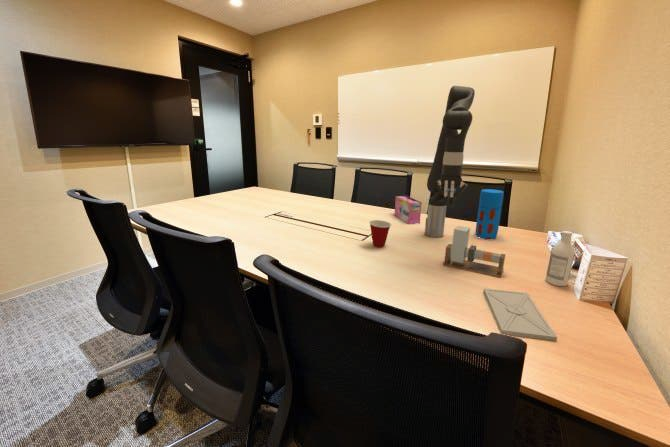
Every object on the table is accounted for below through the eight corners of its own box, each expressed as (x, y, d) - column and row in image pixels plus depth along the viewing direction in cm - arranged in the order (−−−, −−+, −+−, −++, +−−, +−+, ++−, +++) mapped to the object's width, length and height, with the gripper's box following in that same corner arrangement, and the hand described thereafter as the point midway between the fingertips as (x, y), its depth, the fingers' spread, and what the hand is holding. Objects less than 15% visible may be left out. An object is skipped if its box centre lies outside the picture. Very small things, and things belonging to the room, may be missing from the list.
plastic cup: (389, 250, 149) (391, 226, 146) (367, 248, 151) (368, 224, 148) (390, 242, 159) (392, 220, 156) (369, 241, 161) (370, 218, 158)
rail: (443, 265, 133) (444, 248, 130) (448, 258, 140) (450, 242, 138) (500, 277, 121) (503, 260, 119) (503, 269, 128) (506, 252, 126)
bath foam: (556, 277, 121) (567, 228, 116) (572, 285, 115) (584, 234, 109) (540, 279, 120) (551, 229, 114) (556, 287, 114) (567, 235, 108)
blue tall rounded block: (499, 240, 163) (506, 193, 156) (477, 239, 165) (484, 192, 158) (493, 234, 173) (500, 189, 166) (473, 232, 175) (478, 188, 168)
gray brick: (467, 261, 128) (468, 248, 127) (469, 256, 133) (471, 245, 131) (472, 262, 127) (474, 249, 126) (474, 257, 132) (476, 245, 130)
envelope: (500, 336, 88) (555, 343, 85) (502, 329, 87) (557, 336, 84) (483, 293, 110) (526, 297, 107) (483, 287, 109) (527, 292, 106)
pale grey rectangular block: (450, 260, 132) (454, 229, 128) (454, 255, 137) (457, 225, 133) (462, 263, 129) (466, 231, 125) (466, 258, 134) (470, 227, 130)
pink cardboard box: (393, 214, 214) (394, 195, 210) (403, 214, 215) (405, 194, 212) (408, 224, 191) (410, 202, 187) (420, 223, 193) (422, 202, 189)
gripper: (472, 163, 124) (467, 205, 129) (438, 161, 132) (434, 202, 137) (468, 165, 118) (463, 209, 123) (433, 163, 126) (429, 205, 130)
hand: (448, 205), depth 130 cm, fingers closed
